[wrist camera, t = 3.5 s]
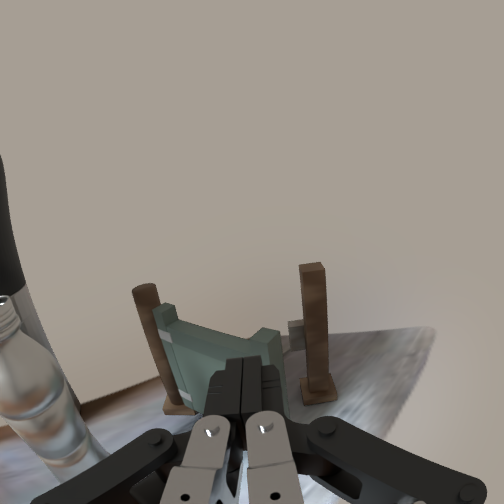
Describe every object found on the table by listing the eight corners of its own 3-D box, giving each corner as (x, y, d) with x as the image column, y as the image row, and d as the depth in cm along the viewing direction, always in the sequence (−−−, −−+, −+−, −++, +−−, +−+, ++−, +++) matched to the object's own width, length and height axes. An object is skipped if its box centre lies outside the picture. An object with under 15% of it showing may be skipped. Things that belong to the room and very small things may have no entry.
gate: (184, 405, 29) (151, 309, 26) (195, 397, 30) (165, 302, 27) (282, 450, 22) (266, 344, 18) (291, 438, 23) (280, 330, 20)
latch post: (297, 406, 29) (285, 278, 25) (293, 382, 33) (281, 262, 29) (337, 399, 29) (336, 270, 24) (329, 376, 33) (325, 256, 28)
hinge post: (165, 414, 29) (120, 297, 25) (171, 394, 33) (133, 282, 29) (195, 414, 29) (155, 294, 25) (199, 394, 33) (166, 279, 29)
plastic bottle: (105, 461, 22) (10, 283, 17) (154, 489, 19) (45, 291, 14) (68, 497, 16) (-56, 317, 11) (115, 534, 14) (-44, 340, 8)
